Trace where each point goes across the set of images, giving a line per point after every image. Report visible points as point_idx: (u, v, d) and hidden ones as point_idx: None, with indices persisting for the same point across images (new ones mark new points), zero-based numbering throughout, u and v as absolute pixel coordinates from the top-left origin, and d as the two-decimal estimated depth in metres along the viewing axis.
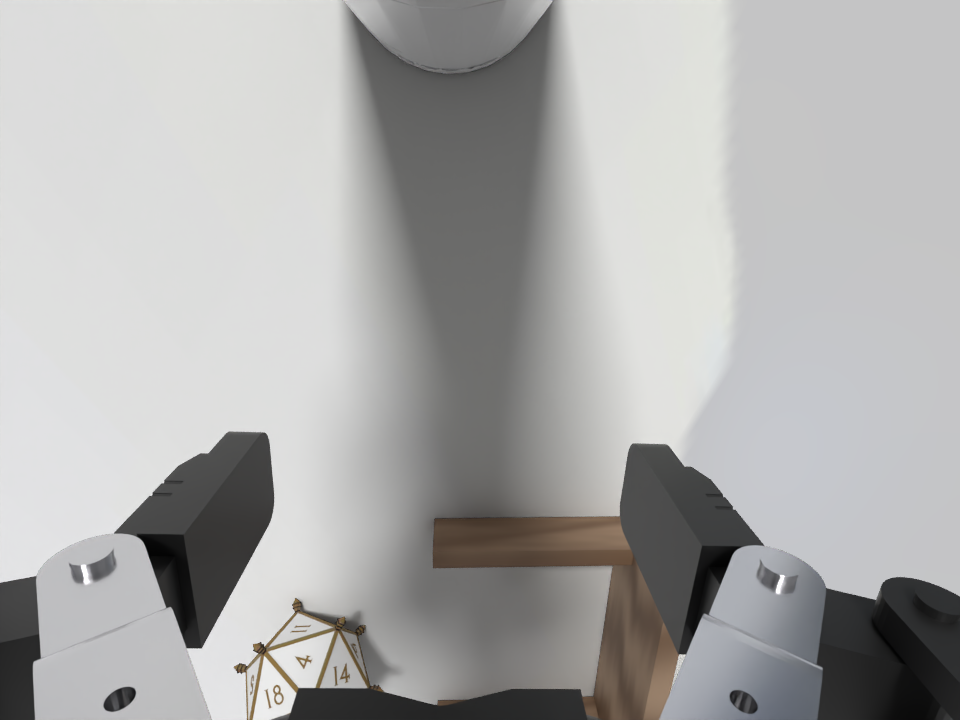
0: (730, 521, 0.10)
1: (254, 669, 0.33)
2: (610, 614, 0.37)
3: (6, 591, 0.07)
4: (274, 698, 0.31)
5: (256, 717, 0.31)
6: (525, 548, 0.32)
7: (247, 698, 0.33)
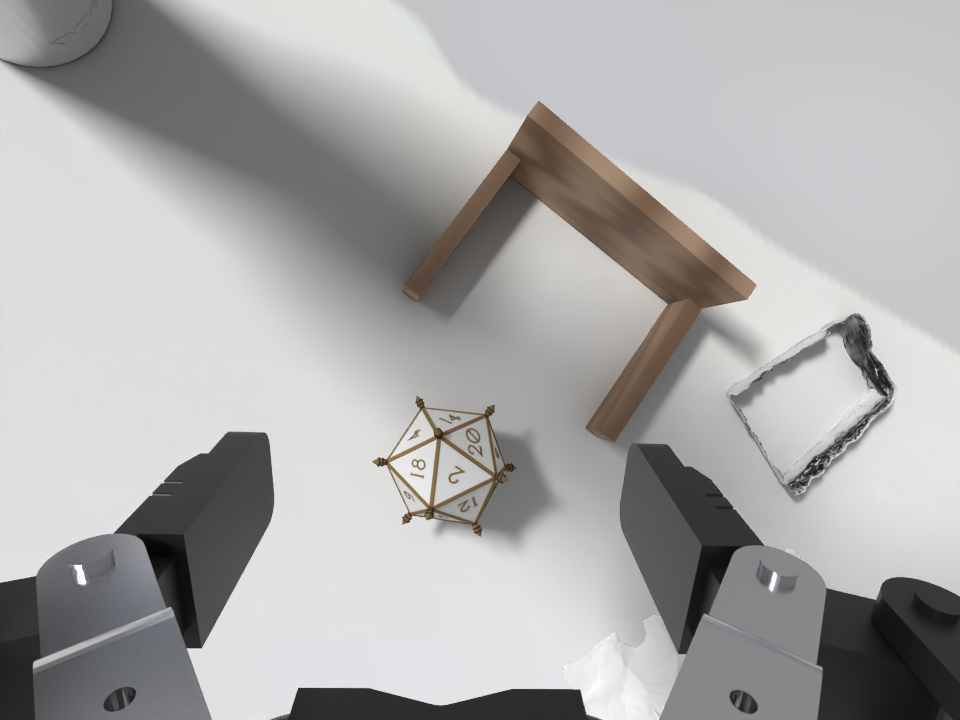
0: (730, 521, 0.10)
1: (401, 488, 0.34)
2: (580, 226, 0.41)
3: (6, 591, 0.07)
4: (419, 469, 0.32)
5: (424, 494, 0.32)
6: (452, 222, 0.37)
7: (418, 510, 0.34)
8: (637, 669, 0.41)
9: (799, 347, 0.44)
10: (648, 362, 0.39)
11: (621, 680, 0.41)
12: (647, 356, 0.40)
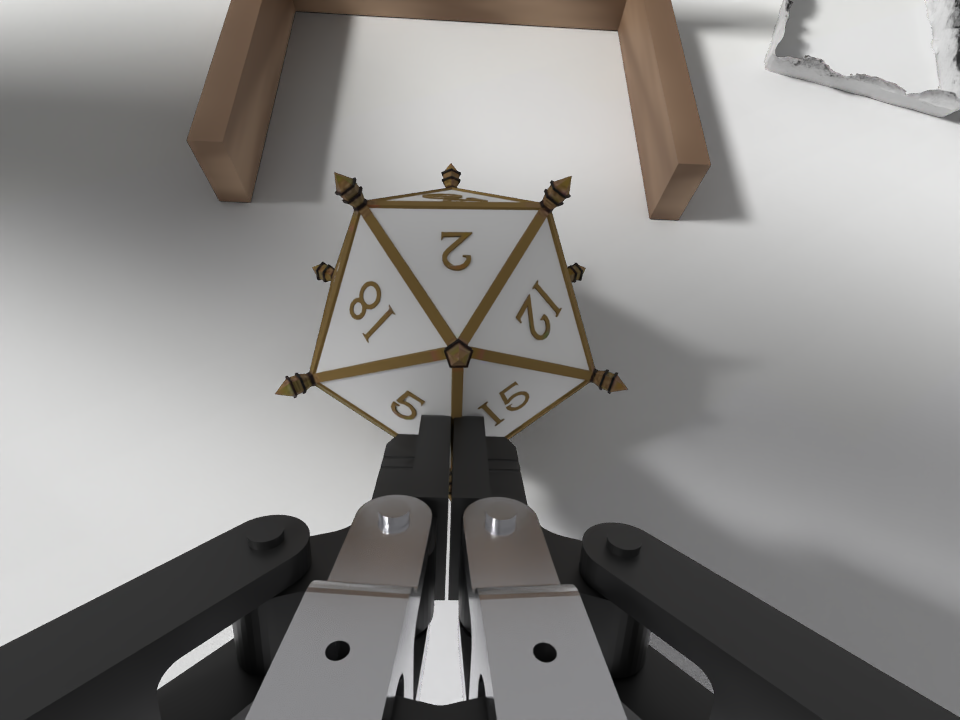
0: (509, 481, 0.11)
1: (384, 412, 0.13)
2: (427, 1, 0.26)
3: (318, 543, 0.09)
4: (374, 307, 0.12)
5: (420, 340, 0.11)
6: None
7: None
8: None
9: None
10: (656, 50, 0.22)
11: None
12: (646, 58, 0.23)
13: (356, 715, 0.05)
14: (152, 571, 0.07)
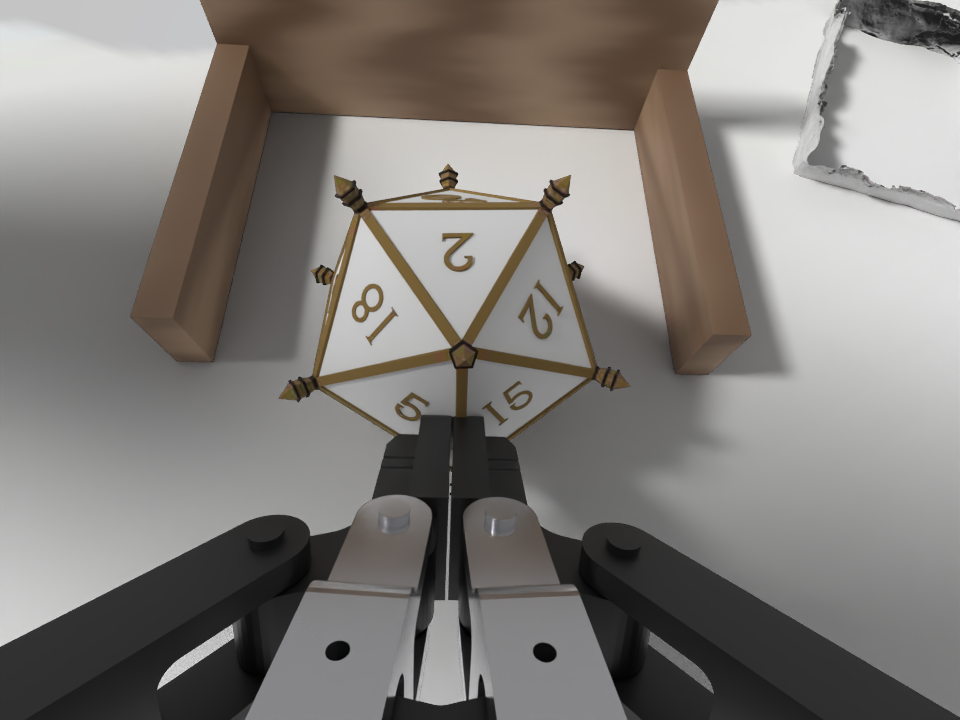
0: (509, 481, 0.11)
1: (388, 414, 0.13)
2: (420, 102, 0.23)
3: (318, 543, 0.09)
4: (376, 310, 0.12)
5: (424, 341, 0.11)
6: None
7: (453, 417, 0.12)
8: None
9: (826, 54, 0.26)
10: (682, 180, 0.19)
11: None
12: (670, 182, 0.20)
13: (356, 715, 0.05)
14: (152, 571, 0.07)
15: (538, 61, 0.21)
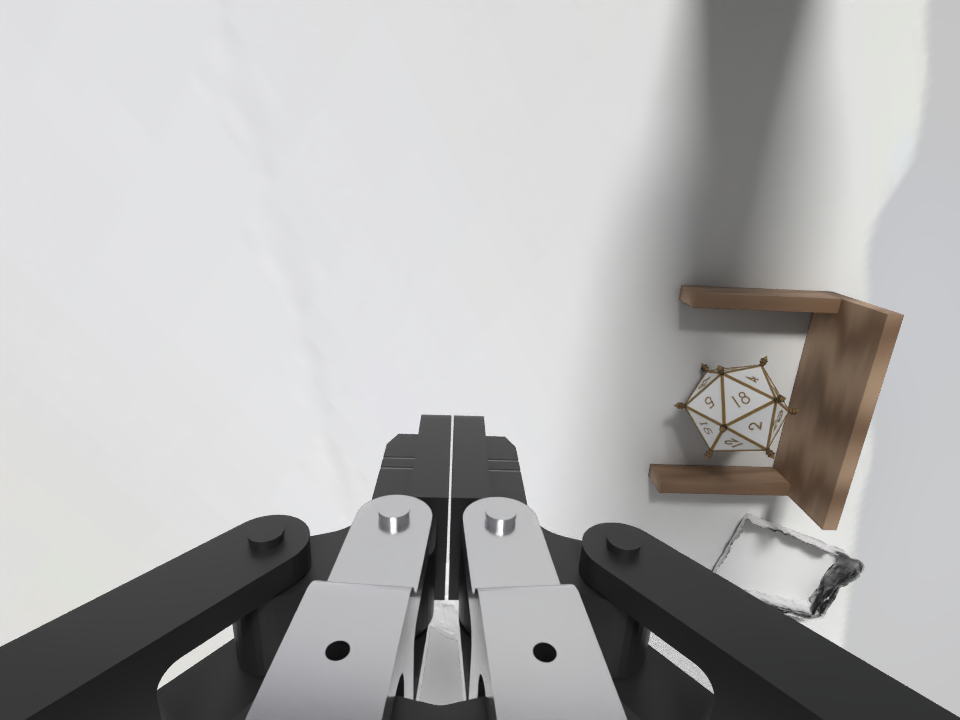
0: (509, 481, 0.11)
1: (708, 393, 0.44)
2: (802, 378, 0.48)
3: (318, 543, 0.09)
4: (741, 400, 0.42)
5: (728, 415, 0.42)
6: (761, 295, 0.43)
7: (704, 414, 0.44)
8: None
9: (812, 541, 0.54)
10: (728, 483, 0.49)
11: None
12: (730, 478, 0.50)
13: (356, 715, 0.05)
14: (152, 571, 0.07)
15: (804, 436, 0.47)
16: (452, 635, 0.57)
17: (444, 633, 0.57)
